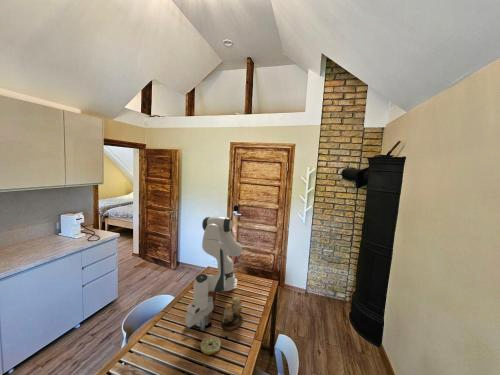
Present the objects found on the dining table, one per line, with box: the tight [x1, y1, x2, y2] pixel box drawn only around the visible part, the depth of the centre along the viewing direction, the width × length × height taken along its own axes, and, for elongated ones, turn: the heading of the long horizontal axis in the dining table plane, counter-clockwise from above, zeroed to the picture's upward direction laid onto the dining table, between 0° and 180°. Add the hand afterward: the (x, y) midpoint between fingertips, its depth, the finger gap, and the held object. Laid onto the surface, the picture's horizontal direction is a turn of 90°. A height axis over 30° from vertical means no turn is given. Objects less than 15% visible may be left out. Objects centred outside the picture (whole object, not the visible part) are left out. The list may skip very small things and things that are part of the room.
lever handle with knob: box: [193, 318, 206, 332], centre depth 136 cm, size 12×3×7 cm, turn 73°
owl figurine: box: [220, 296, 244, 333], centre depth 143 cm, size 18×12×17 cm, turn 150°
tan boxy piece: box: [184, 311, 213, 329], centre depth 142 cm, size 14×13×7 cm
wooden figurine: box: [208, 291, 217, 312], centre depth 153 cm, size 12×6×18 cm, turn 147°
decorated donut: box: [200, 336, 221, 356], centre depth 122 cm, size 10×11×4 cm
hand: (199, 324), depth 132 cm, fingers closed
